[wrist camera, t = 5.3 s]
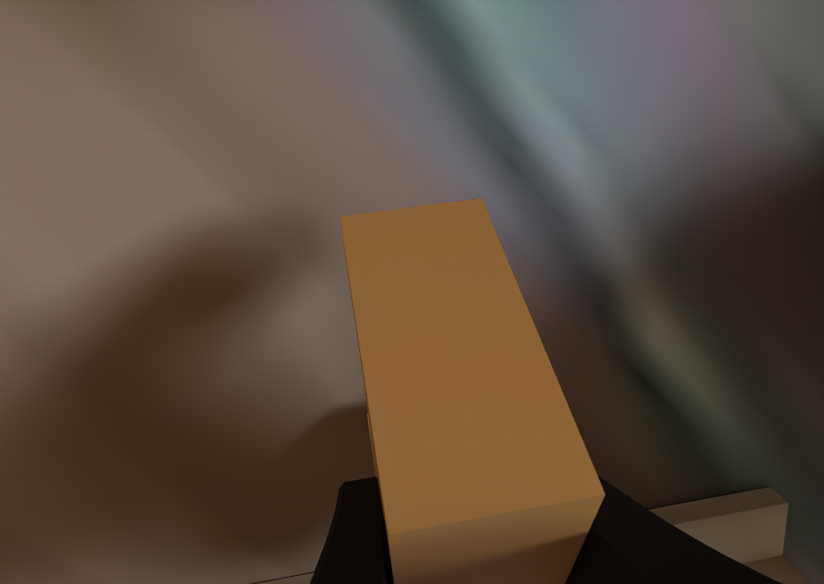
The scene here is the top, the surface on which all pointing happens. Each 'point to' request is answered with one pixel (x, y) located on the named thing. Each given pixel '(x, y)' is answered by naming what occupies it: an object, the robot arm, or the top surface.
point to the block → (463, 404)
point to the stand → (722, 531)
